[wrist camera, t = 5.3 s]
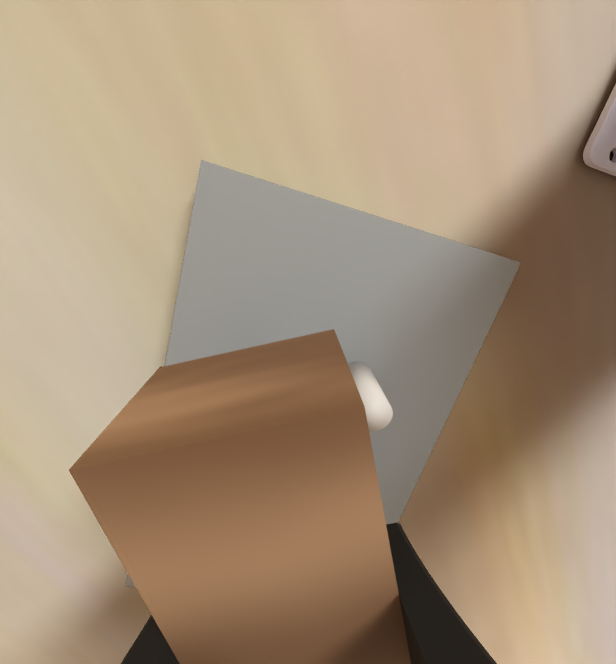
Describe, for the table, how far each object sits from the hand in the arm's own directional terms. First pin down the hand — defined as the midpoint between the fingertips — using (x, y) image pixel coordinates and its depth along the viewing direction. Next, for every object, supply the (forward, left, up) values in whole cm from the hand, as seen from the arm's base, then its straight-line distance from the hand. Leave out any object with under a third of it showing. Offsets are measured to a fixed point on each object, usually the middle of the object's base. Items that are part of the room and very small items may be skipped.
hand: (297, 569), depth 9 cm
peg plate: (0, 0, -7) cm, 7 cm away
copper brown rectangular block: (0, 0, -2) cm, 2 cm away
